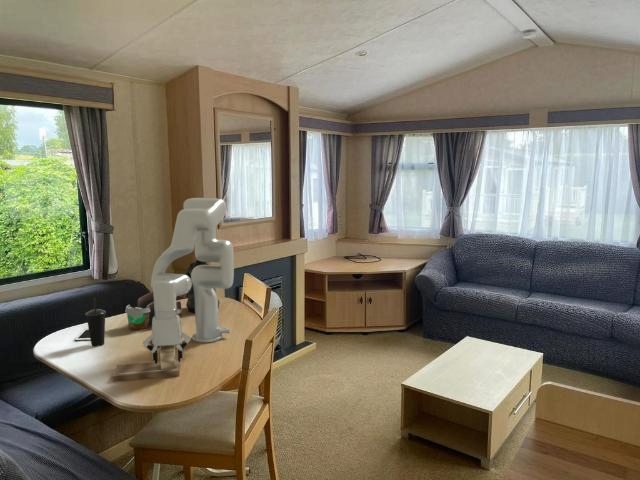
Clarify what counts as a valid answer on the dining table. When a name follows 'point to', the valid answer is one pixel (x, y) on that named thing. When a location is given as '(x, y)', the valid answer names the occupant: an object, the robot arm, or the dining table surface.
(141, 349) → the dining table surface
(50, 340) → the dining table surface
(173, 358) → the block
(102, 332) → the drinking cup
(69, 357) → the dining table surface
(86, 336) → the cell phone
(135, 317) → the food container
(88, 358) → the dining table surface
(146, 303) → the letter holder
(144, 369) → the walnut board
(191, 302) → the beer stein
